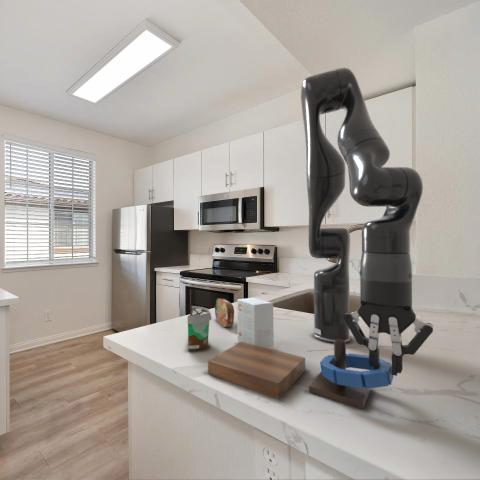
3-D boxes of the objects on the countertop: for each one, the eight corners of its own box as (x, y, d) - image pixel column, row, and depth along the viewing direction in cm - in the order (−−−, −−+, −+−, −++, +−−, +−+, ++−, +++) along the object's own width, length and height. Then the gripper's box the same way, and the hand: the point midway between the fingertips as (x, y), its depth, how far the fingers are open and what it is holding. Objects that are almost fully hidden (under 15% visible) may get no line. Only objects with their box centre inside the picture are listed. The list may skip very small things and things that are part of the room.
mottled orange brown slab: (214, 318, 113) (214, 296, 113) (222, 317, 113) (222, 295, 113) (226, 330, 98) (226, 305, 98) (235, 330, 98) (235, 304, 98)
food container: (211, 355, 78) (210, 317, 78) (187, 353, 79) (187, 316, 79) (212, 339, 90) (212, 306, 90) (192, 337, 91) (191, 305, 91)
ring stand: (321, 376, 66) (321, 330, 66) (370, 389, 60) (370, 339, 60) (308, 391, 59) (308, 341, 59) (362, 409, 53) (362, 352, 53)
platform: (241, 352, 80) (241, 341, 80) (305, 370, 69) (305, 357, 69) (208, 373, 68) (207, 360, 68) (278, 398, 57) (278, 383, 57)
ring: (331, 362, 66) (329, 351, 66) (395, 370, 58) (393, 358, 58) (316, 380, 57) (314, 367, 58) (388, 393, 50) (386, 378, 50)
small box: (274, 350, 81) (274, 302, 80) (254, 354, 78) (254, 304, 78) (255, 341, 88) (254, 297, 88) (236, 343, 86) (236, 298, 86)
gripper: (436, 278, 52) (436, 376, 53) (345, 272, 62) (346, 355, 62) (437, 283, 47) (436, 393, 47) (337, 276, 56) (337, 367, 57)
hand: (385, 371), depth 55 cm, fingers closed
